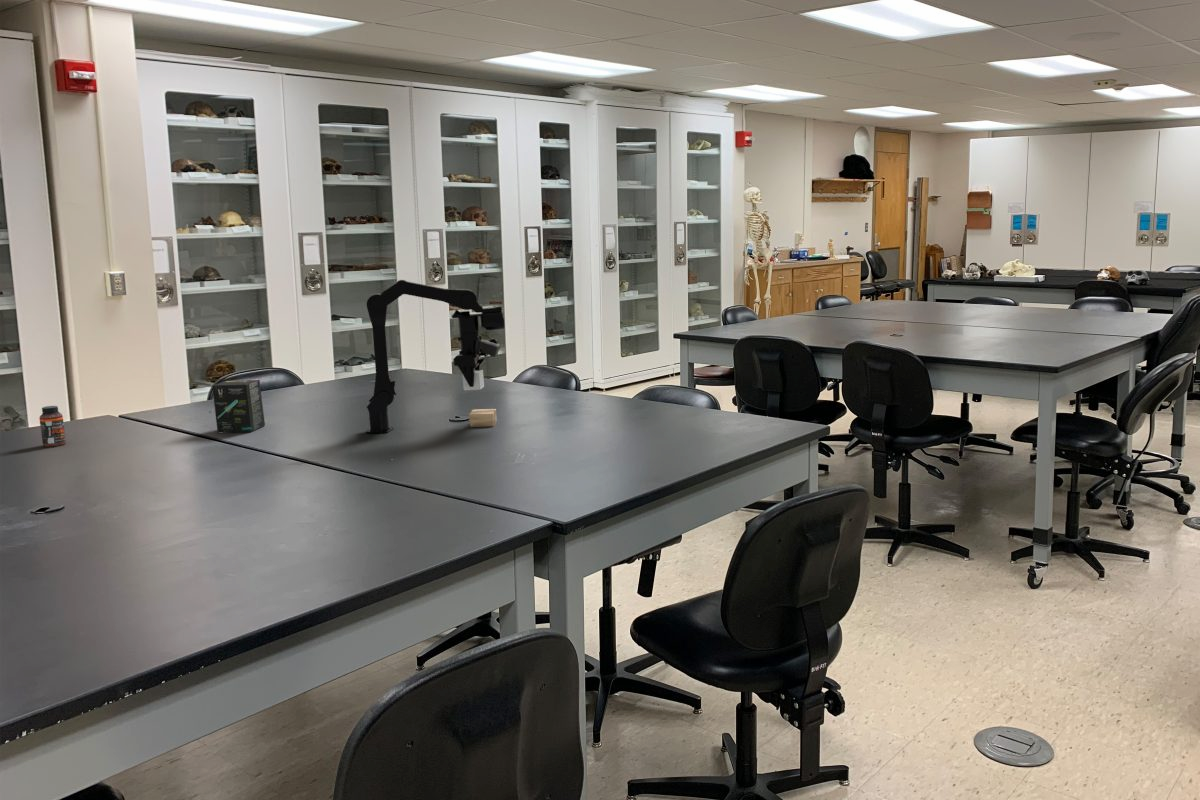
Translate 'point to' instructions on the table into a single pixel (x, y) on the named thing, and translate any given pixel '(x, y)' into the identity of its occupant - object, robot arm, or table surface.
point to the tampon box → (238, 406)
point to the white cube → (475, 381)
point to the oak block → (482, 417)
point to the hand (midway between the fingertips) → (473, 385)
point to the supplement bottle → (52, 427)
